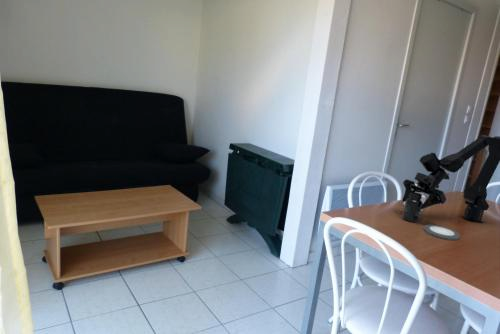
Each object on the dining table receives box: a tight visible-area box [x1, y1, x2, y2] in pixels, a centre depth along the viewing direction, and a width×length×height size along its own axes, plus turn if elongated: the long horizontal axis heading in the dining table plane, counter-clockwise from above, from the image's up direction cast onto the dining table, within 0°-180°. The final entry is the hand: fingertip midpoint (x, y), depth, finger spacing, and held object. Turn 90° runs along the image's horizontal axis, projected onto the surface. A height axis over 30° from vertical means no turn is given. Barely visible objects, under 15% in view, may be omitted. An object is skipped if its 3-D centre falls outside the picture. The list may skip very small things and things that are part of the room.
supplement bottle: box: [402, 192, 423, 223], centre depth 157 cm, size 7×7×12 cm
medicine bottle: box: [402, 182, 427, 212], centre depth 175 cm, size 7×7×12 cm
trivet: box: [423, 224, 461, 241], centre depth 146 cm, size 13×13×1 cm
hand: (411, 204), depth 157 cm, fingers open, 9 cm apart
